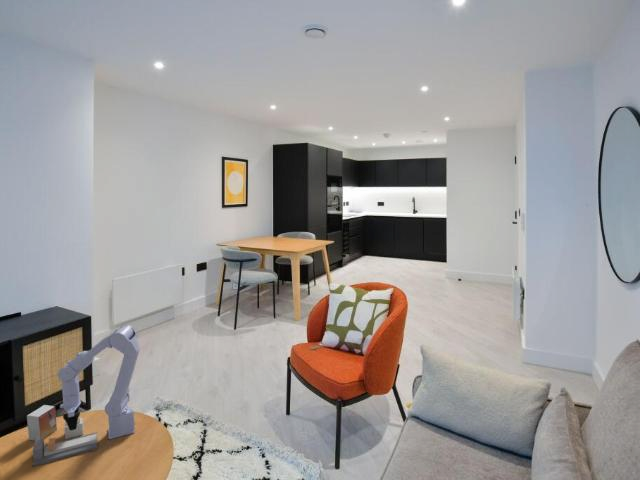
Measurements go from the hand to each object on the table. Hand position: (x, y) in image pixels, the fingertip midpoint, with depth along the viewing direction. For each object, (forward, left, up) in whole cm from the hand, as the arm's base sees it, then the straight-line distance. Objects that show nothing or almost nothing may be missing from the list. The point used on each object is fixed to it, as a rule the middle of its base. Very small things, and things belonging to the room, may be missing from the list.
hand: (73, 424), depth 160 cm
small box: (+11, -5, -4) cm, 13 cm away
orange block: (+6, +10, -2) cm, 12 cm away
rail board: (+2, +10, -4) cm, 11 cm away
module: (0, 0, -4) cm, 4 cm away
